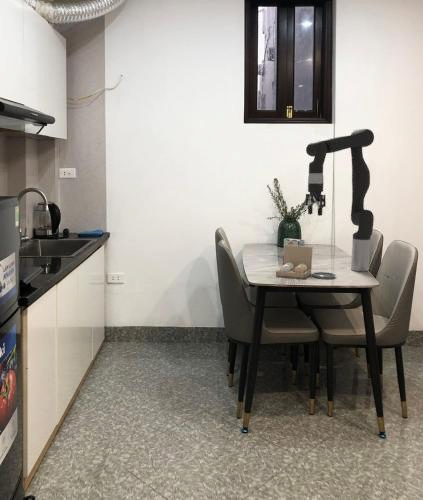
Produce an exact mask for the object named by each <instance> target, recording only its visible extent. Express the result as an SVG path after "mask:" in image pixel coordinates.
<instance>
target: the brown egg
mask: <svg viewBox="0 0 423 500" xmlns="http://www.w3.org/2000/svg"><path fill="white" fill-rule="evenodd" d="M294 272H295V273H304V268H303V267H302V266H297V267H295V269H294Z"/></svg>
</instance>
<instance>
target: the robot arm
mask: <svg viewBox="0 0 423 500" xmlns="http://www.w3.org/2000/svg"><path fill="white" fill-rule="evenodd" d="M374 141H375V133H374V132H373V131H372V130H371V129H369V128H363V129H362V128H360V129H355V130H353V131H352V132H351V133H350V135H343V136H336V137H333V138H328V139H325V140H319V141H312V142H310V143H308V144H307V146H306V148H305V152H306V154H307V155H308V156H309V157H314V159H313V161H309V164H308V177H307V179H308V180H307V192H308V193H306V194H305V206H306V207H307V213H308V214H307V215H313V209H314V208H313V206H314V205H316V206H317V216H323V208H326V206H327V205H326V202H327V201H326V194H322V193H323V192H324V164H325V160H326V157H327V154H333V153H335V152H340V151H344V150H347V149H350V154H351V186H352V187H351V189H352V190H351V191H352V192H351V196H352V197H351V198H352V199H351V210H350V221H351V223H352V225H354V226H358V230H357V231H356V232H354V233H353V234H352V241H351V242H352V244H351V245H352V246H351V258H350V259H351V261H350V270H351V271H354V272H355V271H356V272H368V271H369V265H370V250H371V237H372V235H373V231H374V230H373V229H374V221H375V219H374V214H373V212H372V210H369V209H365V205H364V204H365V203H364V202H365V198H366V195H367V193H368V190H369V187H370V185H371V172H370V169H369V166H368V164H367V163H366V161H365V158H364V154H363V153H364V152H363V148H366V147H369V146H371V145H372V144H373V143H374Z"/></svg>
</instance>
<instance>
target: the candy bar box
mask: <svg viewBox="0 0 423 500" xmlns="http://www.w3.org/2000/svg"><path fill="white" fill-rule="evenodd" d="M284 245H290V246H304V247H305V239H297V238H284V239H283V250H282V253H283V254H282V266H283V265H284Z"/></svg>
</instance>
